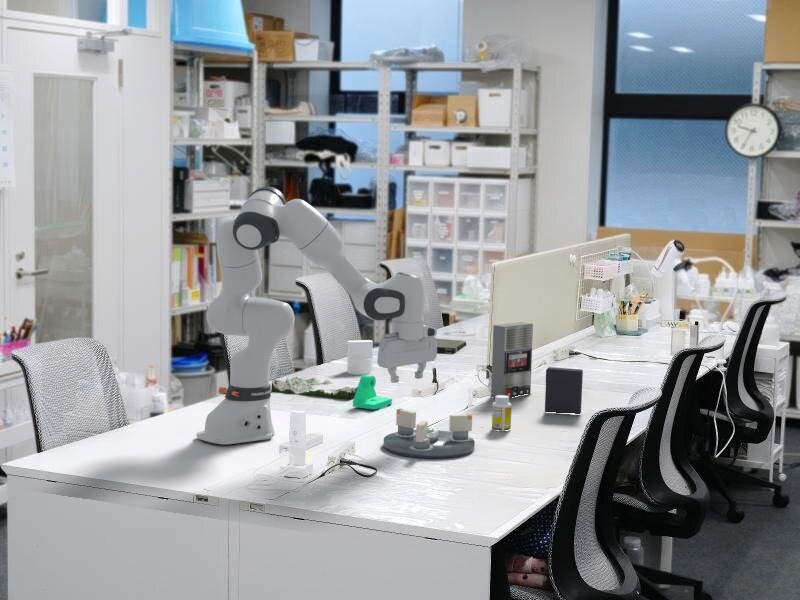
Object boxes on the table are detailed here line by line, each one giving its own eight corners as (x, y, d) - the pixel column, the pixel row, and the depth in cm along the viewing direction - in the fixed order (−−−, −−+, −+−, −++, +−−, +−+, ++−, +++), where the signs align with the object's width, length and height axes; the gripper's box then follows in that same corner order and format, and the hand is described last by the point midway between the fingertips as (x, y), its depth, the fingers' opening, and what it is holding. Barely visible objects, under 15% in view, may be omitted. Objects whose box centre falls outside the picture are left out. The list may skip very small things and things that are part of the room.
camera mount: (373, 413, 365) (374, 380, 364) (352, 410, 369) (353, 377, 368) (393, 406, 376) (393, 374, 374) (372, 403, 379) (373, 372, 378)
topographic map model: (320, 377, 425) (320, 363, 424) (394, 385, 413) (395, 371, 413) (271, 394, 392) (271, 379, 392) (350, 403, 381) (350, 388, 380)
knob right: (452, 440, 322) (453, 417, 322) (447, 436, 327) (448, 413, 326) (473, 439, 324) (473, 416, 323) (468, 435, 328) (468, 413, 327)
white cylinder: (350, 376, 421) (350, 343, 419) (344, 371, 429) (345, 339, 428) (374, 375, 423) (375, 343, 421) (368, 370, 432) (369, 338, 430)
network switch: (402, 357, 469) (402, 345, 468) (411, 348, 492) (411, 336, 491) (460, 360, 465) (460, 348, 464) (467, 351, 488) (467, 339, 487)
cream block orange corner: (418, 434, 329) (419, 411, 328) (407, 436, 325) (408, 413, 325) (403, 430, 333) (404, 407, 332) (392, 432, 330) (393, 410, 329)
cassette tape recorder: (503, 403, 384) (506, 327, 381) (490, 400, 389) (492, 325, 386) (532, 398, 393) (535, 324, 390) (518, 395, 398) (521, 321, 395)
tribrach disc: (431, 464, 306) (431, 444, 305) (364, 446, 323) (364, 427, 322) (493, 448, 323) (493, 430, 323) (426, 432, 341) (427, 415, 340)
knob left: (416, 443, 318) (416, 420, 317) (432, 444, 317) (432, 421, 316) (410, 448, 312) (411, 425, 311) (426, 450, 311) (427, 426, 310)
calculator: (581, 416, 367) (583, 369, 365) (579, 419, 363) (581, 371, 361) (546, 413, 370) (548, 366, 368) (544, 416, 366) (546, 368, 364)
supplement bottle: (509, 428, 348) (511, 394, 347) (511, 433, 342) (512, 398, 341) (490, 428, 348) (492, 394, 347) (492, 432, 342) (493, 398, 341)
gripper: (388, 336, 316) (387, 386, 317) (441, 329, 330) (439, 377, 332) (372, 333, 320) (371, 383, 322) (425, 326, 334) (423, 374, 336)
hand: (406, 380), depth 327 cm, fingers open, 8 cm apart
